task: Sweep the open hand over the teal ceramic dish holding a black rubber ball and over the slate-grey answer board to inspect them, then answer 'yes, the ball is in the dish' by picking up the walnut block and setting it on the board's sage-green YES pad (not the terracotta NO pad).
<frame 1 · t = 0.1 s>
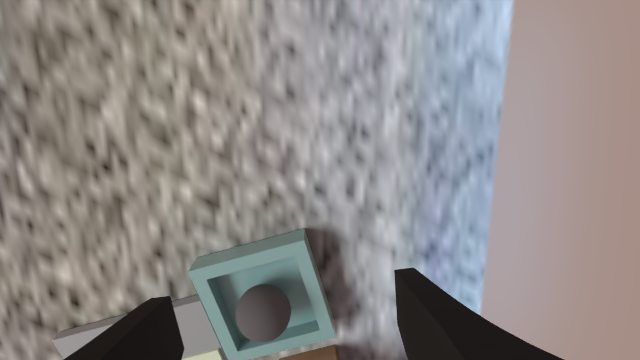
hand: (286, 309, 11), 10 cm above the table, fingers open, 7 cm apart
dish: (268, 290, 22), on the table
ball: (266, 295, 21), point 1 cm above the table, touching dish
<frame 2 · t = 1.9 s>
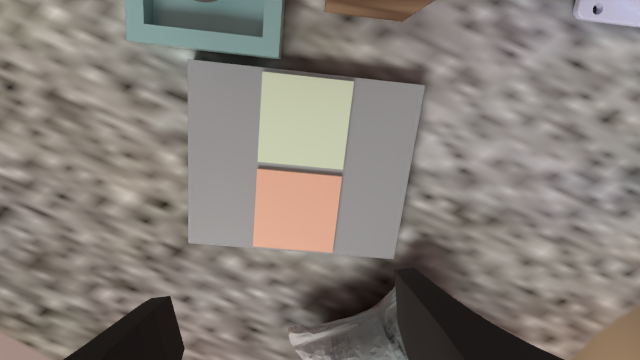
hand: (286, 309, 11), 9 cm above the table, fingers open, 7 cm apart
packaged food: (382, 348, 23), on the table
answer board: (300, 165, 19), on the table
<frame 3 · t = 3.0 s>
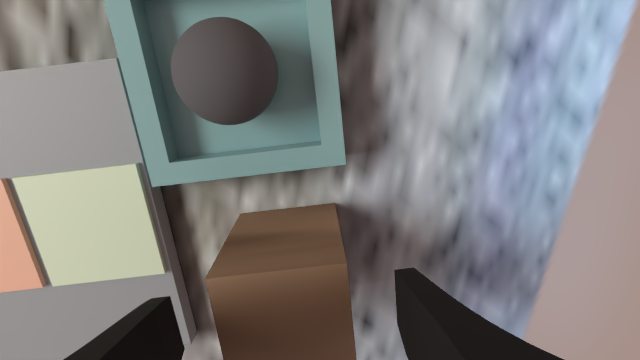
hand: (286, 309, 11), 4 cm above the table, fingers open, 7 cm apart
dish: (240, 75, 13), on the table
ball: (237, 75, 12), point 1 cm above the table, touching dish
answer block: (293, 250, 15), on the table
answer board: (47, 225, 14), on the table
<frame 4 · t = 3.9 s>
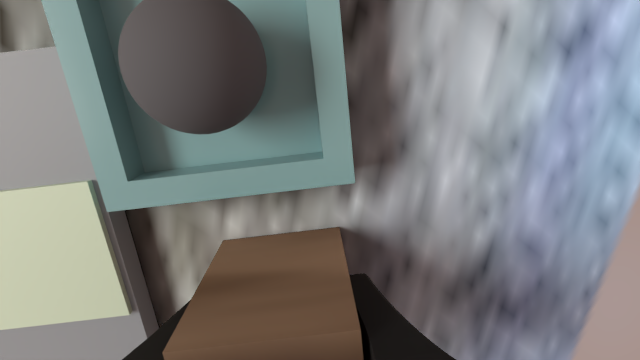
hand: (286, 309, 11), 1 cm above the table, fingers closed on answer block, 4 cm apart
dish: (221, 69, 10), on the table
ball: (215, 68, 9), point 1 cm above the table, touching dish
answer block: (289, 284, 12), on the table, touching gripper
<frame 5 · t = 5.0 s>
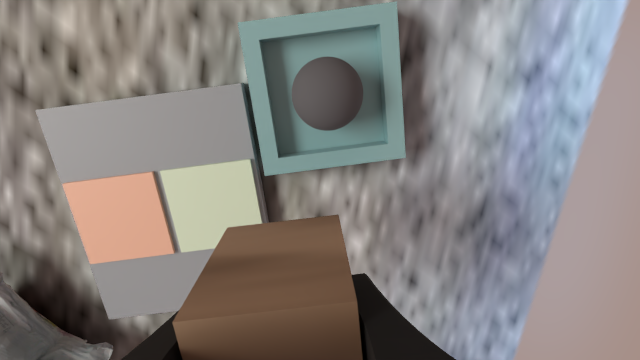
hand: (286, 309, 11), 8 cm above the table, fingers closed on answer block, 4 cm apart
dish: (325, 93, 17), on the table
packaged food: (19, 344, 21), on the table
ball: (325, 93, 17), point 1 cm above the table, touching dish
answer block: (290, 270, 13), point 6 cm above the table, touching gripper
answer board: (174, 207, 19), on the table
when the fingers open (4 cm above the table, at t = 6.5 s): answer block stays where it is, resting on answer board.
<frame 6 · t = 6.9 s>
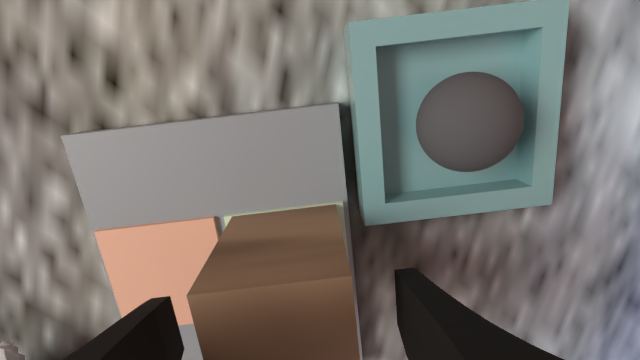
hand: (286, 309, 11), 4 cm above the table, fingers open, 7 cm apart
dish: (441, 116, 13), on the table
ball: (447, 118, 13), point 1 cm above the table, touching dish
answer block: (291, 256, 13), point 1 cm above the table, touching answer board
answer board: (234, 257, 14), on the table
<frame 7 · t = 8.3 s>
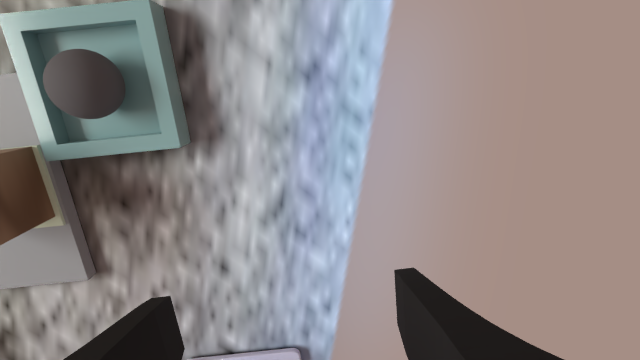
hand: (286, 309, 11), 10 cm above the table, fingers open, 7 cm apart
dish: (112, 84, 18), on the table
ball: (106, 84, 17), point 1 cm above the table, touching dish
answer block: (7, 186, 18), point 1 cm above the table, touching answer board
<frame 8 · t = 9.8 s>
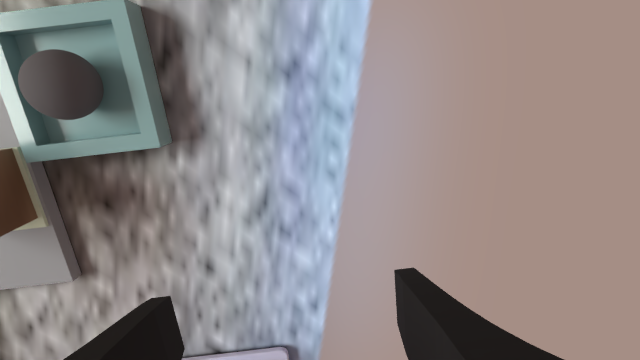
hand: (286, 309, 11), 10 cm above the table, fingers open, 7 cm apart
dish: (92, 85, 18), on the table
ball: (85, 85, 17), point 1 cm above the table, touching dish
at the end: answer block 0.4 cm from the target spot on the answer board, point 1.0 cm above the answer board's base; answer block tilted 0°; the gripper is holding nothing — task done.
